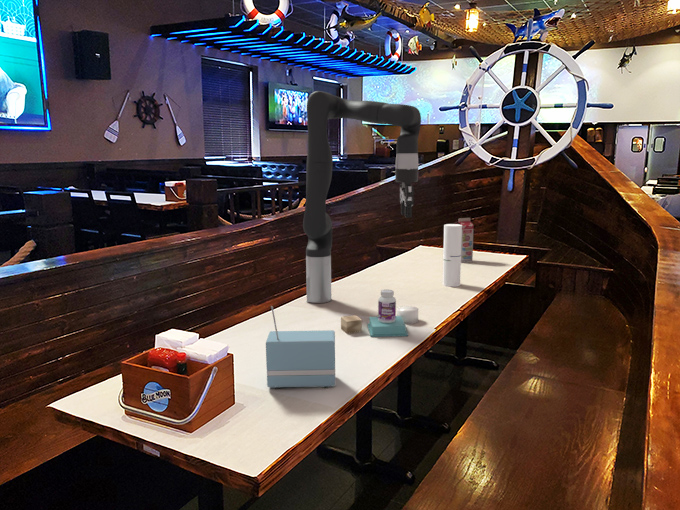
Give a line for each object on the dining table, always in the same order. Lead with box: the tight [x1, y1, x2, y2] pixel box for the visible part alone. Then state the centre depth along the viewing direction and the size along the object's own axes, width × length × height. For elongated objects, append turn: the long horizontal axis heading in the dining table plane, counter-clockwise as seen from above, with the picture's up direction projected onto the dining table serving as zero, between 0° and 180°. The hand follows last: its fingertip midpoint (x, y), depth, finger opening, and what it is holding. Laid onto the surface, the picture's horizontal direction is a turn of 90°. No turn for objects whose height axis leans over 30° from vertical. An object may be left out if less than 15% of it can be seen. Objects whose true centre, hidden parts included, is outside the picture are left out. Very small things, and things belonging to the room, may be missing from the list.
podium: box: [367, 315, 409, 338], centre depth 165 cm, size 11×11×3 cm
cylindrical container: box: [442, 223, 462, 288], centre depth 221 cm, size 7×7×25 cm
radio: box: [265, 305, 336, 390], centre depth 127 cm, size 16×9×20 cm, turn 91°
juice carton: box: [455, 217, 474, 264], centre depth 270 cm, size 7×7×22 cm
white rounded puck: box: [396, 305, 419, 325], centre depth 175 cm, size 7×7×4 cm
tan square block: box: [340, 315, 363, 335], centre depth 166 cm, size 5×5×4 cm
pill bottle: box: [377, 288, 397, 323], centre depth 164 cm, size 5×5×10 cm
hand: (406, 216), depth 181 cm, fingers open, 8 cm apart
